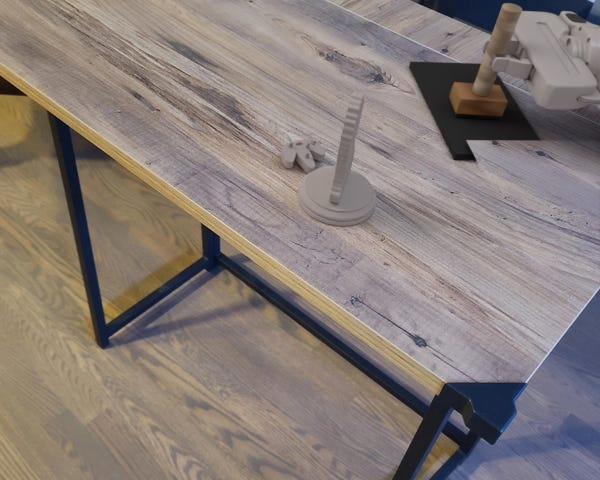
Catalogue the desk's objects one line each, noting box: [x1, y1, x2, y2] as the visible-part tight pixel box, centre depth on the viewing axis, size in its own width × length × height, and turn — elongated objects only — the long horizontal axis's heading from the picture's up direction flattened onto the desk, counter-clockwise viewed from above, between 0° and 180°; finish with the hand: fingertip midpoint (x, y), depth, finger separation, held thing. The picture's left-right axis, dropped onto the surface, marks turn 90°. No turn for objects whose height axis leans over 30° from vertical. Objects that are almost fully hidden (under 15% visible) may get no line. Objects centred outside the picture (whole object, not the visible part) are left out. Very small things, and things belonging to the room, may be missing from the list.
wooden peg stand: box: [449, 2, 523, 119], centre depth 82 cm, size 7×4×15 cm, turn 93°
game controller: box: [268, 119, 326, 174], centre depth 78 cm, size 6×12×3 cm, turn 46°
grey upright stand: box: [296, 90, 378, 227], centre depth 68 cm, size 10×10×15 cm
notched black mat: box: [408, 61, 542, 161], centre depth 90 cm, size 14×24×1 cm, turn 8°
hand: (488, 54), depth 82 cm, fingers closed on wooden peg stand, 2 cm apart
